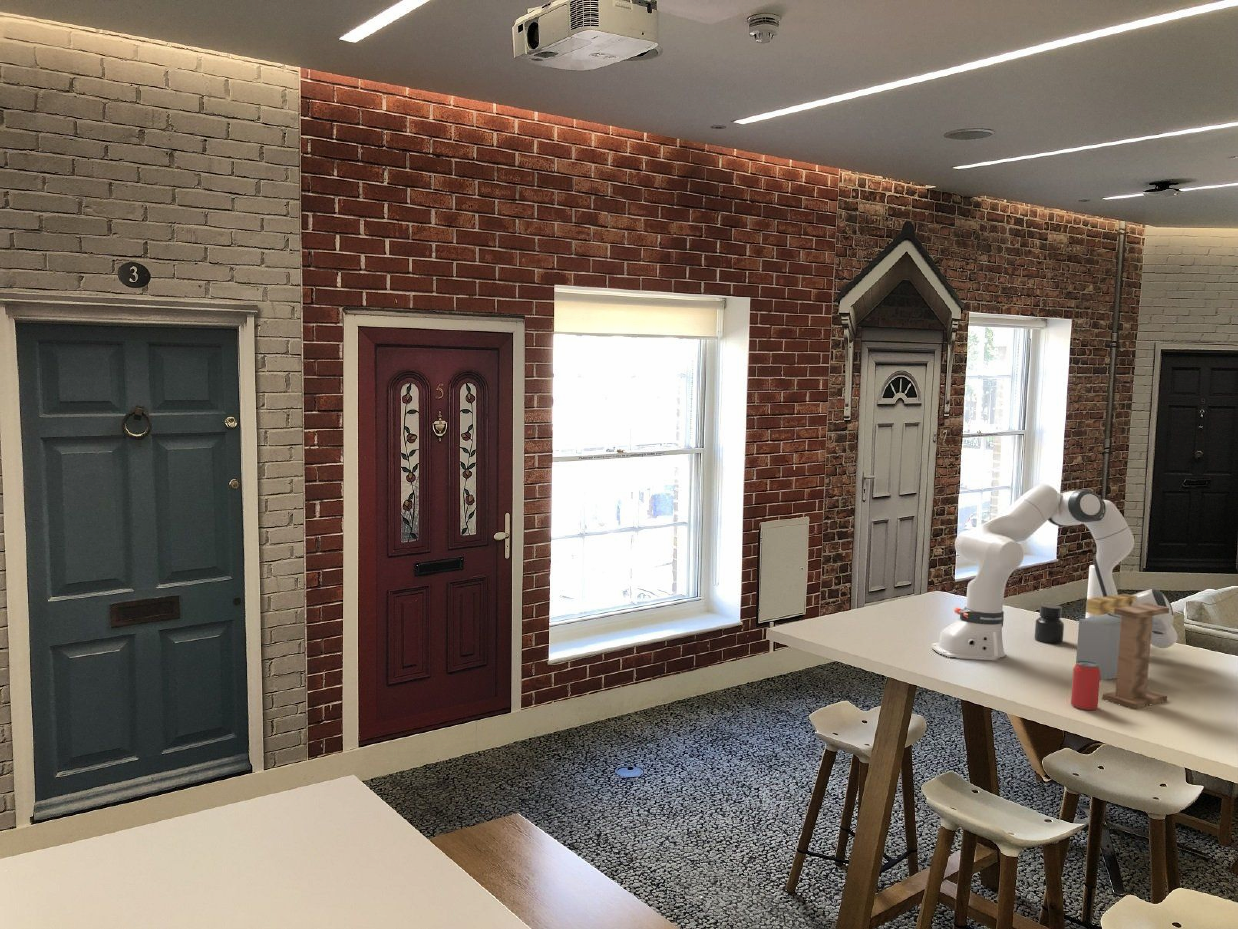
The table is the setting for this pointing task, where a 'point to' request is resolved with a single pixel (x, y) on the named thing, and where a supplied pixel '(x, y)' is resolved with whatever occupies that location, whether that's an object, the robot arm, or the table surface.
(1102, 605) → the bar
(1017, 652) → the table surface
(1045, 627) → the ink bottle
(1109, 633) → the ledge block
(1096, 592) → the cylindrical container
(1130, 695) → the stand
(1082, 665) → the beer can
